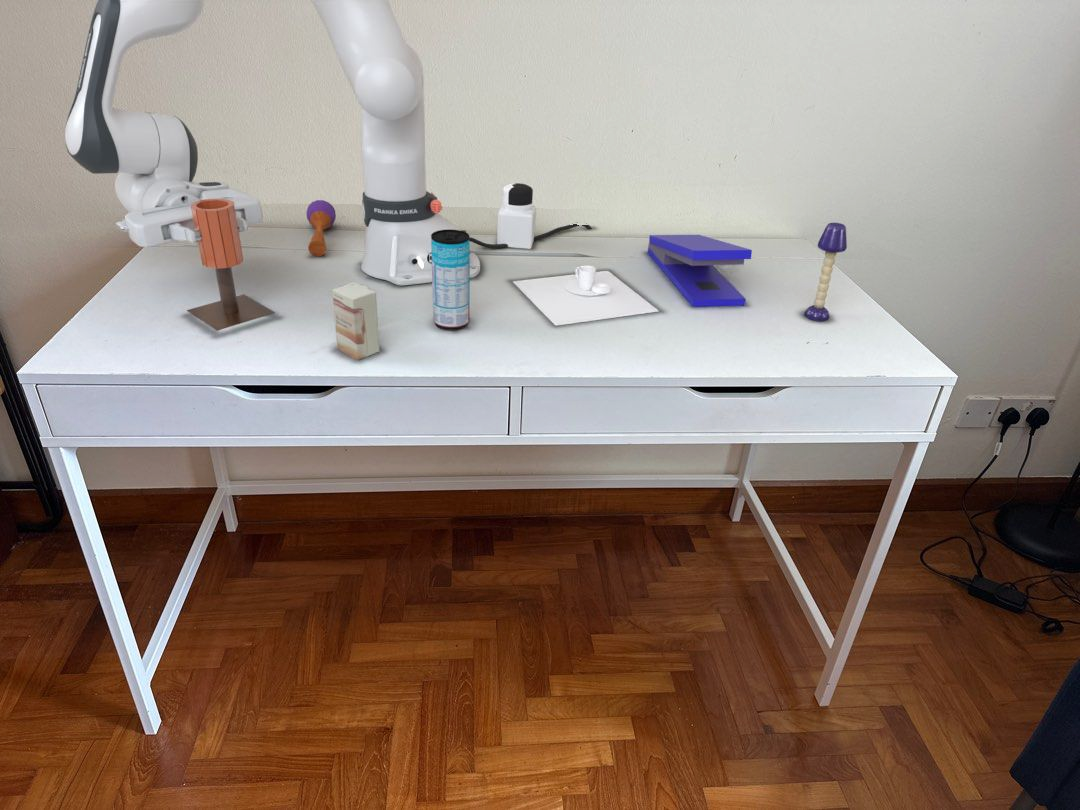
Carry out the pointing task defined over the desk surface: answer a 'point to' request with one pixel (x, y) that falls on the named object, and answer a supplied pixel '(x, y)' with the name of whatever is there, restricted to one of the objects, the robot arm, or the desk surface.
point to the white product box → (356, 320)
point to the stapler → (698, 267)
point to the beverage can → (451, 278)
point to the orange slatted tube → (217, 233)
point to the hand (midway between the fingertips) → (220, 231)
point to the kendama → (320, 224)
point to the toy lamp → (827, 268)
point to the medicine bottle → (517, 217)
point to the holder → (229, 305)
